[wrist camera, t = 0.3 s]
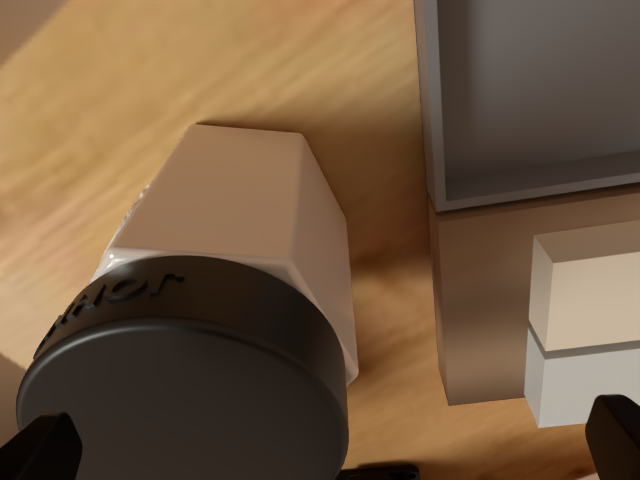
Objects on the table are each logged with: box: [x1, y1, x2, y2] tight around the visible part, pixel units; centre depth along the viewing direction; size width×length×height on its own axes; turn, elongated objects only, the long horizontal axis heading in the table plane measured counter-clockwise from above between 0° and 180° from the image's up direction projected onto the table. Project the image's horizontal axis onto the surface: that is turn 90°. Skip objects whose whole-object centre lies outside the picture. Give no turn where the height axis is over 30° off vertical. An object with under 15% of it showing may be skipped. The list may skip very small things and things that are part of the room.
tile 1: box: [524, 327, 640, 428], centre depth 23 cm, size 4×4×2 cm
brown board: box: [427, 182, 640, 406], centre depth 23 cm, size 11×12×2 cm
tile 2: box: [529, 220, 640, 351], centre depth 20 cm, size 4×4×2 cm
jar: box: [16, 124, 359, 480], centre depth 17 cm, size 9×8×12 cm
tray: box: [414, 0, 640, 212], centre depth 17 cm, size 11×12×2 cm
